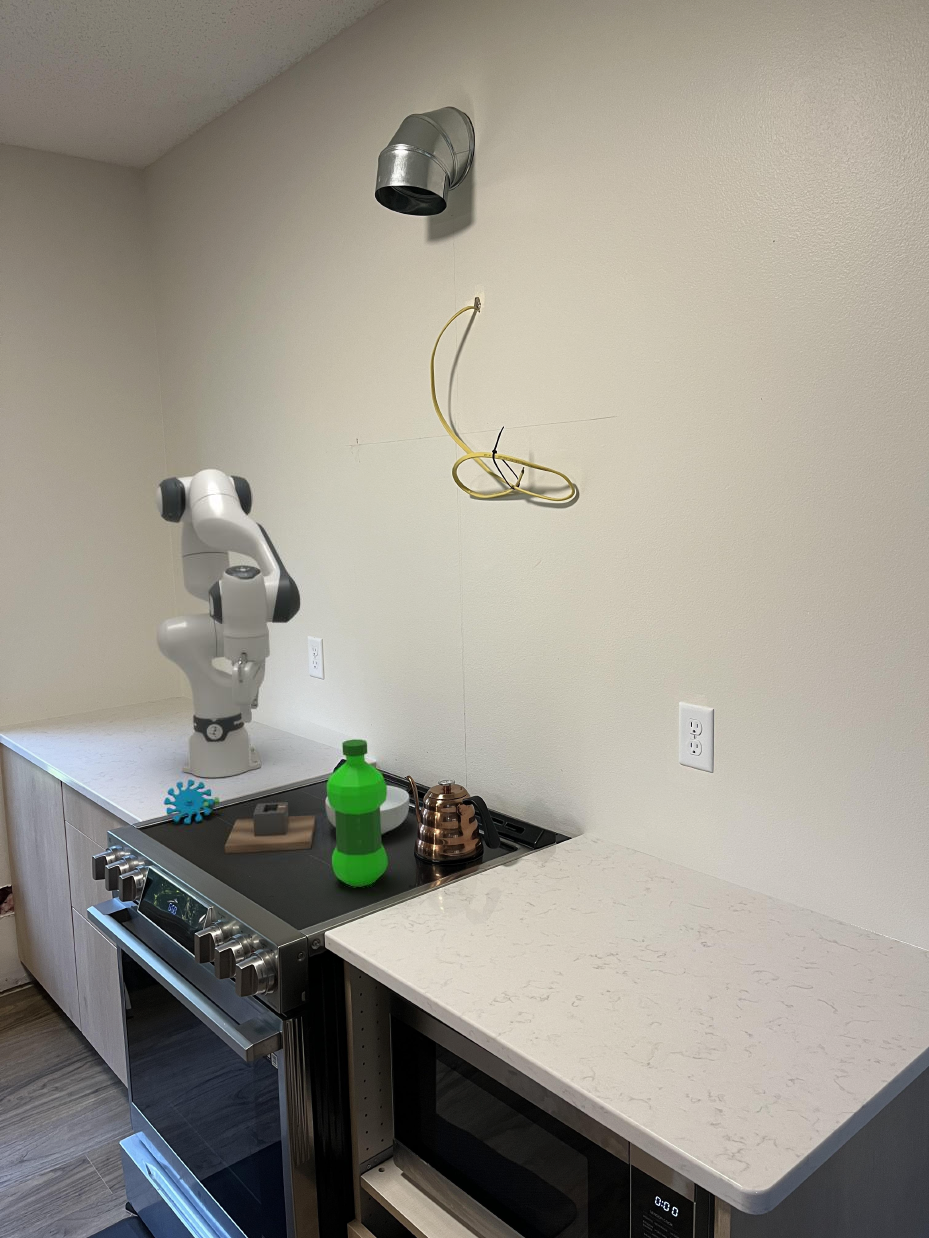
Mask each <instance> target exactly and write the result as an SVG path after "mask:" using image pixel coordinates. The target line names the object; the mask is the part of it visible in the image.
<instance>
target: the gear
mask: <svg viewBox="0 0 929 1238" xmlns="http://www.w3.org/2000/svg"><path fill="white" fill-rule="evenodd" d="M194 785H195V780H193V779H188V780H187V786H186V788H185V789H182V788H183V786H184V782H183V781H179V782H176V788H177V790H178V794H176V793H175V789H174V787H171V788H169V789H168V790H167V795H168V796H170V797H172V798H173V799H174V801H172V800H171V798H169V797H165V798H164V801H163V804H164V805H165V806H168V805H169V806H174V807H175V808H171V807H166V809H165V811H166V814H167V816H169V815H170V816H171V815H172V814H173V813H180V814H175V815H173V817H172V820H173V821H174V822H176V823H179V821H180V820H181V818H183V817H184V816H188V817H185V818H184V820H183V824H185V825H191V821H192V820H191V819H192V817H193V816H194V815H196V816H195V822H196V823H199V822H200V823H201V822H202V821H203V816H202V815H201V814H200V811H201V810H203V811H204V812H203V813H204V816H205V817H206V816H208V815H210V814H211V813H213V810H214V809H215V807H216V805H219V802H220V798H219V796H218V797H214V798H206V797H203V796H207V797H211V796H212V790H211V788H208V789H206V790H204V791H199V790H203V789H205V783H204V782H202V781H200V782H198V785H196V786H195V787H193V786H194ZM191 787H193V788H191Z"/></svg>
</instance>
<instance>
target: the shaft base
mask: <svg viewBox="0 0 929 1238" xmlns="http://www.w3.org/2000/svg"><path fill="white" fill-rule="evenodd" d="M288 817H289V825H288V828H287V832H286V835H273V836H254V822H253V818H243V819H242V818H241V819H239V818H238V819H236V820H235V822H234V825H233V827H232V830H231V831H230V834H229V836H228V838H227V840H226V843H225V844H224V853H225V854H241V853H258V852H259V853H260V852H276V851H280V852H281V851H293V850H294V851H295V850H296V851H297V850H310V849H311V847H312V842H313V837H314V833H315V830H316V829H315V828H316V823H317V821H316V820H317V819H316V815H299V816H298V815H297V816H296V815H295V816H288Z"/></svg>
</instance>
